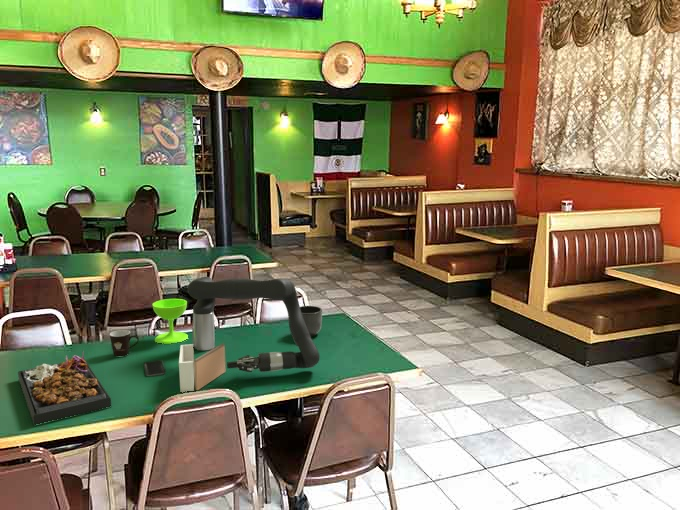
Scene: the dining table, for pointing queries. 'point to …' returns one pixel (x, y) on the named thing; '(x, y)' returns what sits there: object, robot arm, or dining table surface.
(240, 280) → the robot arm
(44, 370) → the food platter
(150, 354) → the dining table surface
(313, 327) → the planter
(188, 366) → the box
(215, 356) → the panel
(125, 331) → the coffee mug
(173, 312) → the wineglass
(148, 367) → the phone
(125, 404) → the dining table surface
